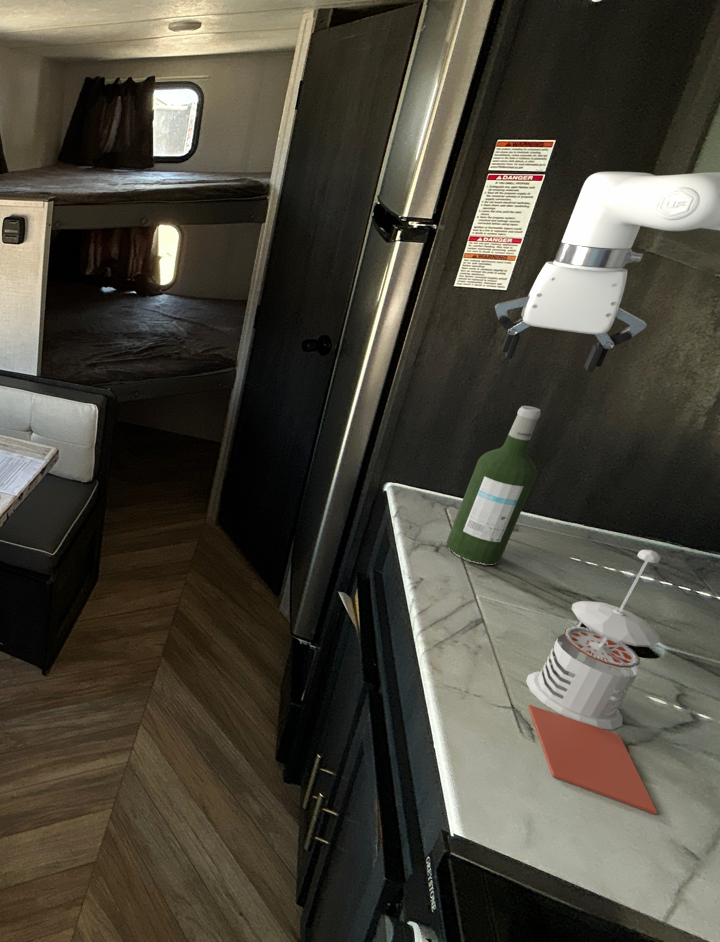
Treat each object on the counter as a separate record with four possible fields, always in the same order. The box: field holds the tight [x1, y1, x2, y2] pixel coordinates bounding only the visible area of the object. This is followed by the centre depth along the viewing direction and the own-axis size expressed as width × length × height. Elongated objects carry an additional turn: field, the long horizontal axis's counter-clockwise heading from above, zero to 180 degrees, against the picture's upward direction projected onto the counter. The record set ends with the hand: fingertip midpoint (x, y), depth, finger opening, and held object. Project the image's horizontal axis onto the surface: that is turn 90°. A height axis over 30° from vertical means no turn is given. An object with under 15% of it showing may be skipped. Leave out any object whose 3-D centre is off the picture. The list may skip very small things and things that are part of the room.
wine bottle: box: [446, 405, 541, 567], centre depth 113 cm, size 8×8×30 cm
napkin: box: [528, 704, 658, 815], centre depth 80 cm, size 9×12×1 cm
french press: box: [525, 549, 662, 730], centre depth 84 cm, size 10×12×25 cm
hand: (547, 363), depth 102 cm, fingers open, 9 cm apart
